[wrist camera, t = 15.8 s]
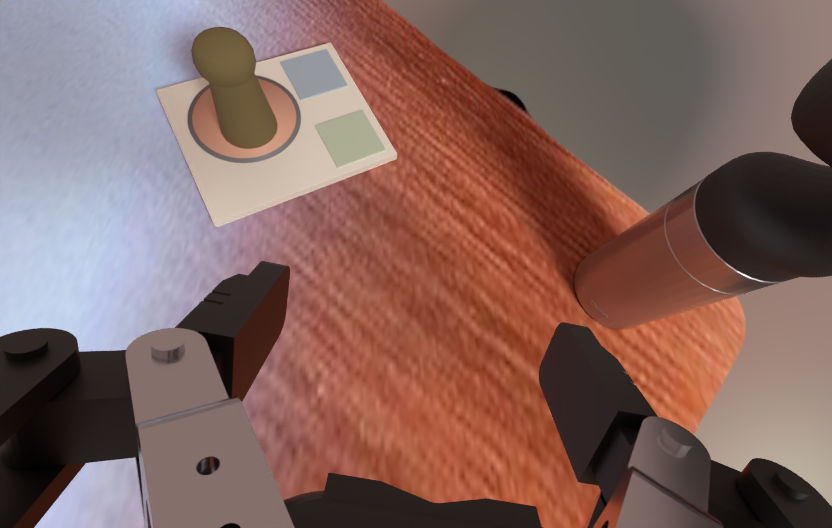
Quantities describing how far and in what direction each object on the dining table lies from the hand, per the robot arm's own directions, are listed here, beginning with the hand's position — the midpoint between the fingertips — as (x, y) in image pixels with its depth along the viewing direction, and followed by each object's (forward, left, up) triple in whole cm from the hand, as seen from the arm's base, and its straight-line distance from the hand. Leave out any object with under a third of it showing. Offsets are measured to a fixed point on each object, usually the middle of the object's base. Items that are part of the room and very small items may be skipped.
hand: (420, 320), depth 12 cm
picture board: (-3, -30, -29) cm, 42 cm away
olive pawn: (0, -31, -28) cm, 42 cm away
